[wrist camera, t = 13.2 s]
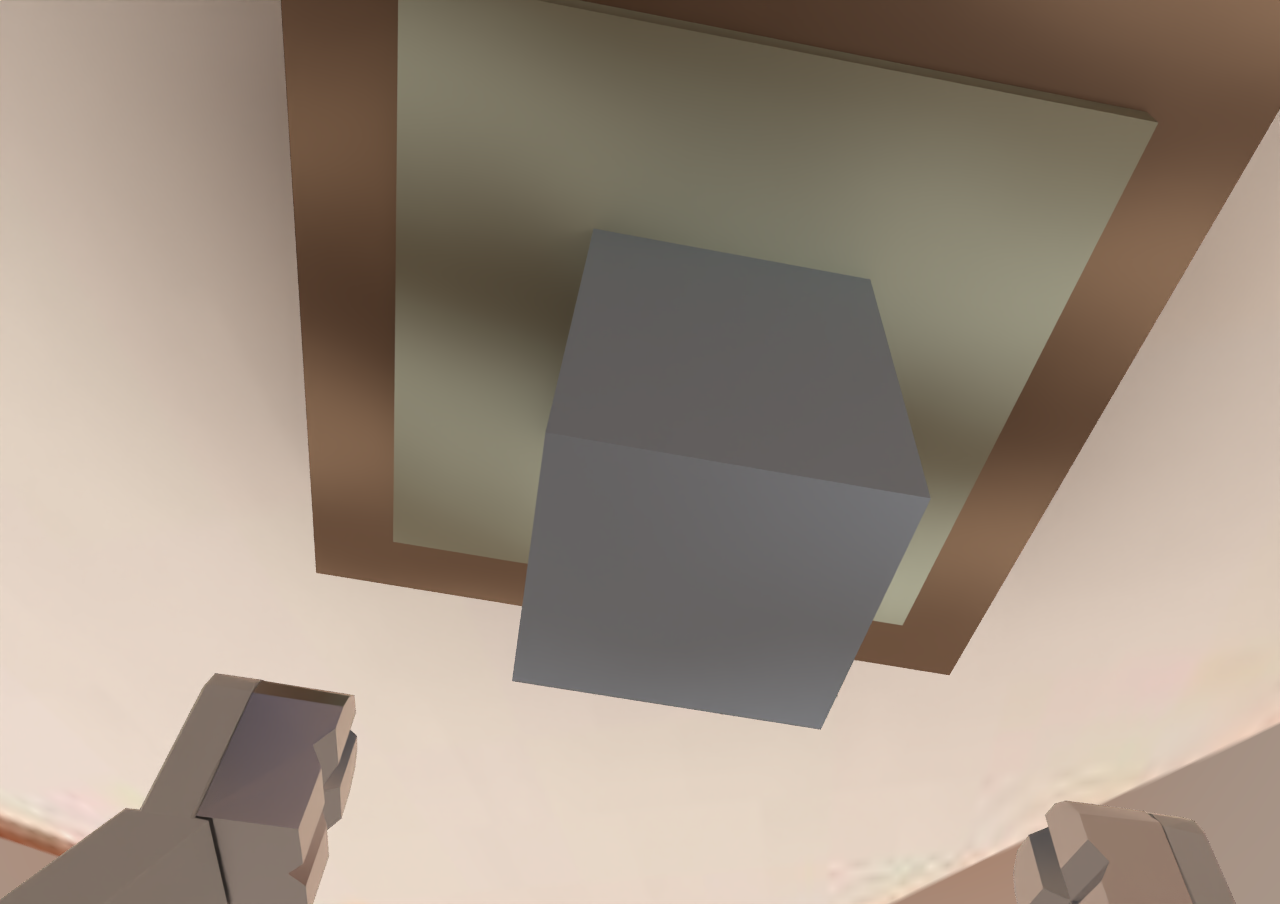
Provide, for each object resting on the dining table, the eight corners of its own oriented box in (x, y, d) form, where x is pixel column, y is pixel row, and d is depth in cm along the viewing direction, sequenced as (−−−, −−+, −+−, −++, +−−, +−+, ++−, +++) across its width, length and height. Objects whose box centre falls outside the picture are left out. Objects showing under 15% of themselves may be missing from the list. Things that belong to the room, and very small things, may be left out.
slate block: (593, 228, 17) (546, 432, 12) (870, 279, 17) (931, 498, 12) (560, 449, 20) (512, 681, 15) (795, 489, 20) (820, 729, 15)
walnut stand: (344, -228, 16) (253, -214, 13) (1238, -43, 17) (1358, 13, 14) (358, 481, 26) (309, 587, 23) (925, 576, 27) (953, 691, 24)
